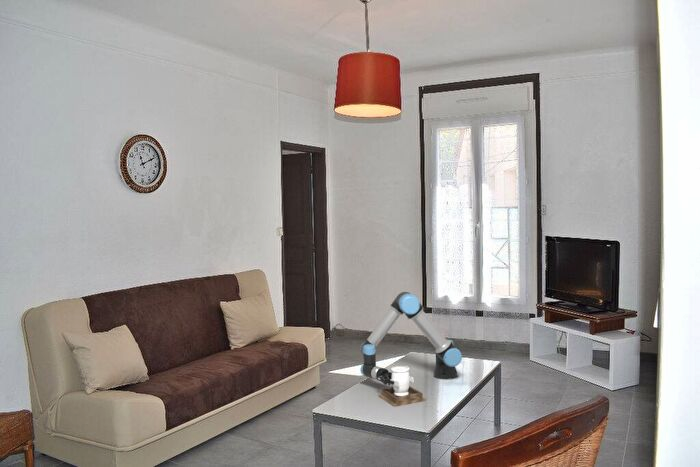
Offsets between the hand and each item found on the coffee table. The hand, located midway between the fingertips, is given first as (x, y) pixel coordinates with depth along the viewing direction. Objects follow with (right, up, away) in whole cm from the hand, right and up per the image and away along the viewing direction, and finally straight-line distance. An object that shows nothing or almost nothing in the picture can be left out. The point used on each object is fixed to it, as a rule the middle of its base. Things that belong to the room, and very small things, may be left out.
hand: (406, 381), depth 308 cm
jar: (-2, -8, +4) cm, 9 cm away
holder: (-2, -11, +4) cm, 11 cm away
